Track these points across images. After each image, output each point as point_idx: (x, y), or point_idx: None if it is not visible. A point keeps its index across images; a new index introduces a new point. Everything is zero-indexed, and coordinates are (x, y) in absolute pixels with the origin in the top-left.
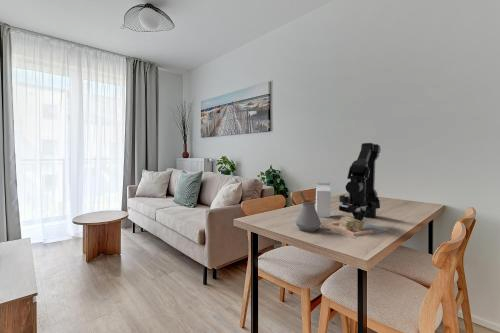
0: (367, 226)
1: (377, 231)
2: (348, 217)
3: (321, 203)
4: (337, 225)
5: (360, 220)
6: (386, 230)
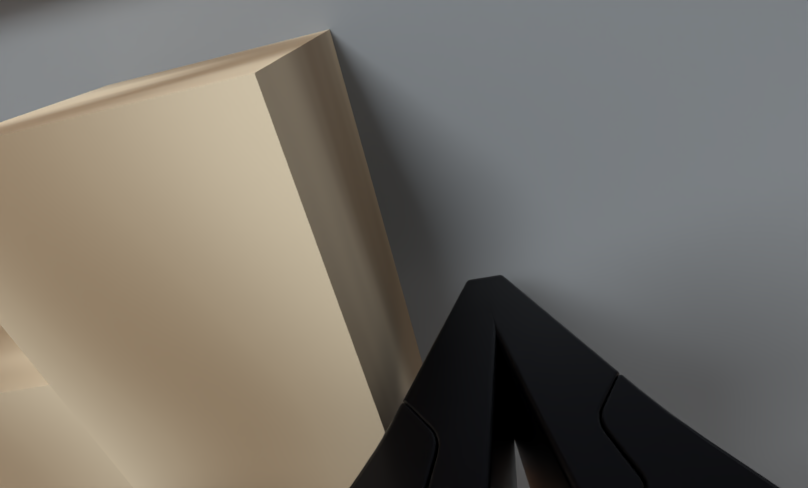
0: (738, 266)
1: None
2: (252, 233)
3: None
4: (30, 23)
5: (520, 456)
6: (804, 484)
